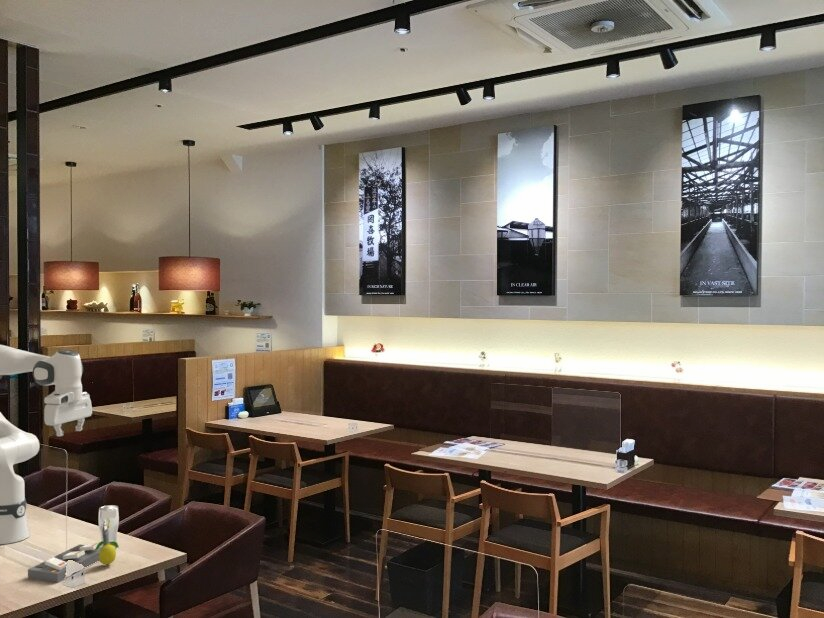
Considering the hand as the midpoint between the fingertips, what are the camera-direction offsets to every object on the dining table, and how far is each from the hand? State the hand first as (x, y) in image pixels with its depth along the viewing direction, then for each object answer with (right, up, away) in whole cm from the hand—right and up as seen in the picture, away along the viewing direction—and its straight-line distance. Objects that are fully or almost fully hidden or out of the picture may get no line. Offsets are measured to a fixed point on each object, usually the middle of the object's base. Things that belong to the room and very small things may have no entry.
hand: (69, 433), depth 267 cm
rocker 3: (+10, -39, -5) cm, 41 cm away
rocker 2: (+7, -40, -13) cm, 42 cm away
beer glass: (+12, -44, +6) cm, 46 cm away
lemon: (+18, -44, -11) cm, 49 cm away
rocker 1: (+5, -40, -20) cm, 45 cm away
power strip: (+5, -44, -12) cm, 46 cm away
